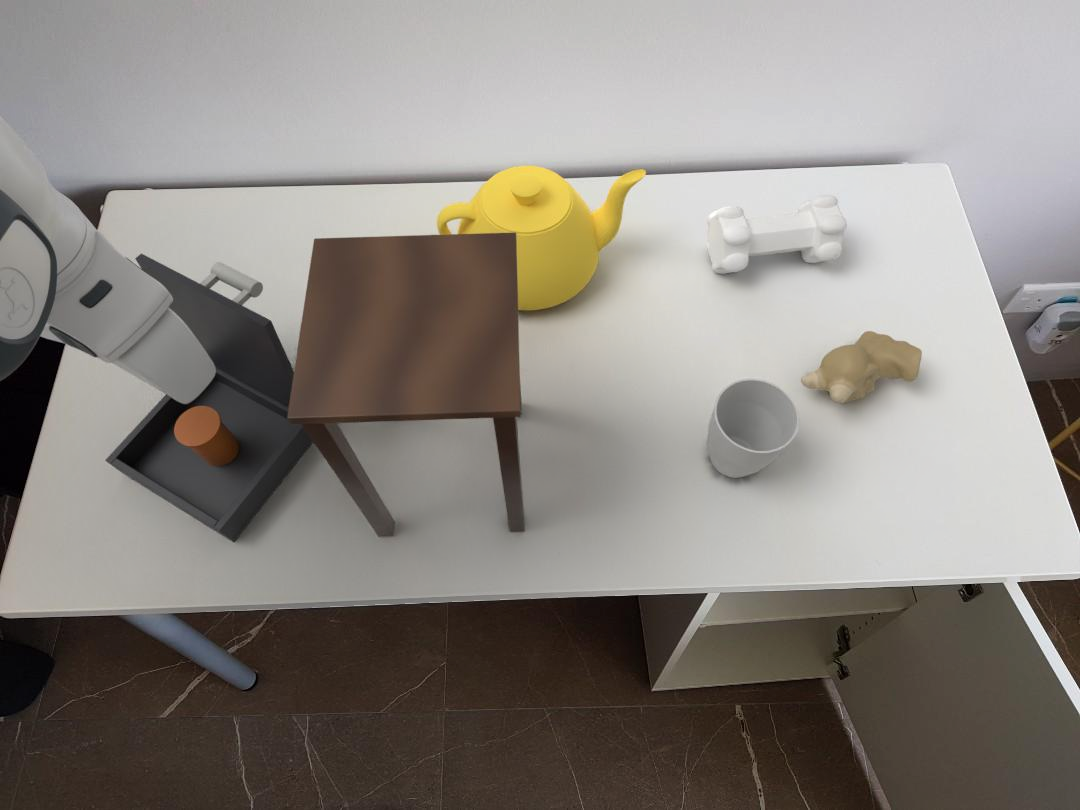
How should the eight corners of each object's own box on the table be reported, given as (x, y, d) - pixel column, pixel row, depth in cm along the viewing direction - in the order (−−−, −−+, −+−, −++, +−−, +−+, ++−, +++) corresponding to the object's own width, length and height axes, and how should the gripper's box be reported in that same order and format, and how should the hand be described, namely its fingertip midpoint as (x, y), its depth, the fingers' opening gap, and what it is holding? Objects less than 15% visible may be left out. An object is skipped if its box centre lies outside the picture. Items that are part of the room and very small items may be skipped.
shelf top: (291, 424, 49) (286, 418, 48) (317, 246, 56) (313, 238, 56) (520, 417, 49) (520, 410, 48) (516, 240, 57) (516, 231, 56)
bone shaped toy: (810, 224, 92) (832, 178, 85) (832, 276, 88) (857, 232, 81) (699, 237, 92) (712, 191, 84) (716, 290, 88) (731, 247, 80)
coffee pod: (222, 476, 75) (198, 453, 70) (190, 457, 77) (164, 433, 71) (251, 442, 77) (229, 417, 72) (219, 424, 78) (195, 398, 73)
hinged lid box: (234, 542, 73) (219, 531, 69) (123, 474, 77) (104, 460, 73) (321, 431, 79) (311, 416, 75) (215, 373, 82) (201, 356, 79)
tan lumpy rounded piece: (936, 356, 76) (861, 380, 71) (906, 407, 80) (834, 433, 75) (876, 317, 81) (802, 336, 76) (851, 366, 86) (780, 387, 80)
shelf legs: (378, 536, 73) (297, 419, 49) (388, 407, 80) (321, 250, 56) (524, 531, 73) (515, 412, 49) (521, 403, 80) (511, 244, 56)
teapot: (620, 201, 95) (631, 116, 83) (647, 307, 86) (663, 231, 74) (434, 220, 93) (418, 137, 81) (443, 330, 85) (427, 256, 73)
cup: (775, 491, 75) (805, 453, 66) (698, 490, 75) (719, 452, 66) (764, 423, 79) (792, 378, 70) (692, 422, 79) (710, 378, 70)
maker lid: (265, 326, 62) (300, 290, 64) (134, 258, 65) (172, 227, 68) (307, 417, 75) (336, 385, 77) (196, 356, 78) (227, 327, 81)
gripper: (-89, 245, 51) (34, 347, 63) (116, 363, 46) (206, 449, 58) (-19, 188, 54) (86, 297, 66) (183, 295, 49) (256, 391, 61)
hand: (144, 370), depth 62 cm, fingers open, 8 cm apart
